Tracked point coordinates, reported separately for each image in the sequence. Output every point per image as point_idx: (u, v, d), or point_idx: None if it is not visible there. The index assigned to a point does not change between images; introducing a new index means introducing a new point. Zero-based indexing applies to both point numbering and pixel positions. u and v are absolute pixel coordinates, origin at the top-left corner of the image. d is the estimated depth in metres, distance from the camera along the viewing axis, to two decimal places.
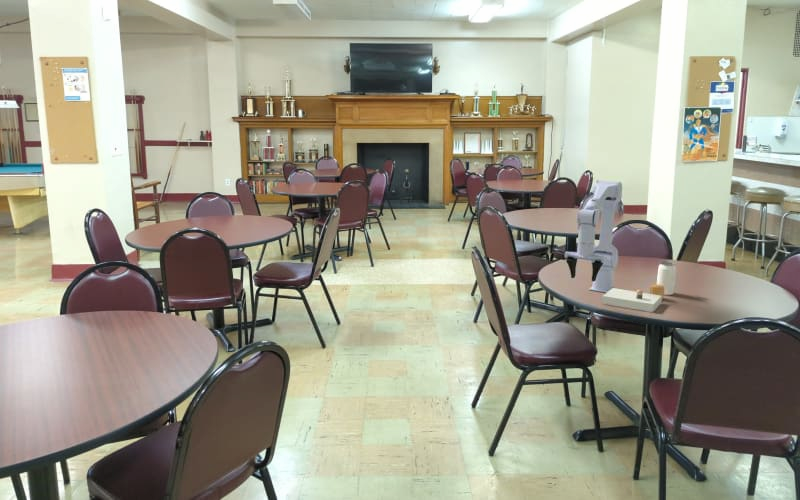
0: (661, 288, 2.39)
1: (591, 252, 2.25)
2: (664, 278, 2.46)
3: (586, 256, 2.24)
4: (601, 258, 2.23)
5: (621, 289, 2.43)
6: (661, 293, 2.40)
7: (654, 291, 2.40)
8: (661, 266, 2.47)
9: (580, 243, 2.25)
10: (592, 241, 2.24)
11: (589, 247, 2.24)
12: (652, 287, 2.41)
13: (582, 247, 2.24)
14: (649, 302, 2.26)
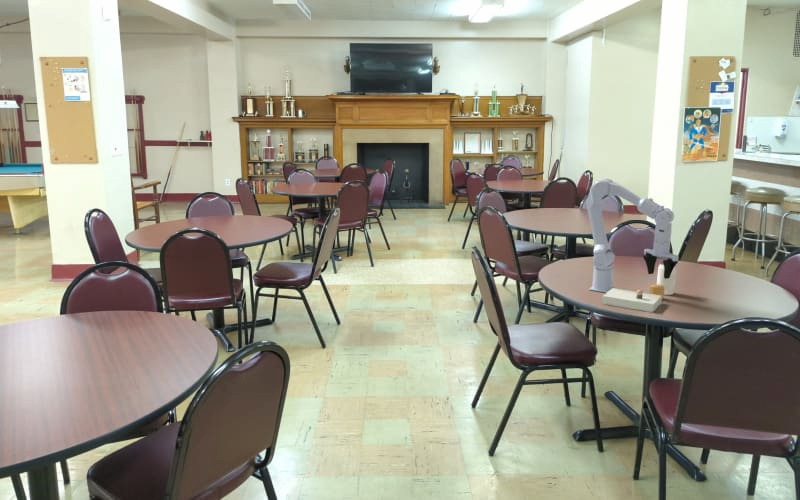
0: (661, 288, 2.39)
1: (664, 250, 2.36)
2: (664, 278, 2.46)
3: (659, 253, 2.36)
4: (672, 256, 2.33)
5: (621, 289, 2.43)
6: (661, 293, 2.40)
7: (654, 291, 2.40)
8: (661, 266, 2.47)
9: (654, 241, 2.38)
10: None
11: (662, 245, 2.35)
12: (652, 287, 2.41)
13: (656, 244, 2.37)
14: (649, 302, 2.26)
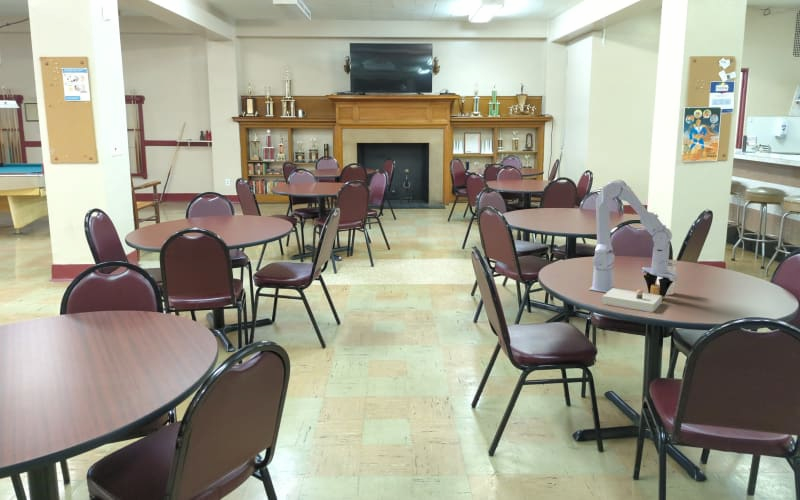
0: None
1: (662, 269, 2.37)
2: None
3: (657, 273, 2.38)
4: (670, 276, 2.34)
5: (621, 289, 2.43)
6: None
7: (654, 291, 2.40)
8: None
9: (652, 260, 2.39)
10: None
11: (660, 265, 2.37)
12: (652, 287, 2.41)
13: (654, 264, 2.38)
14: (649, 302, 2.26)
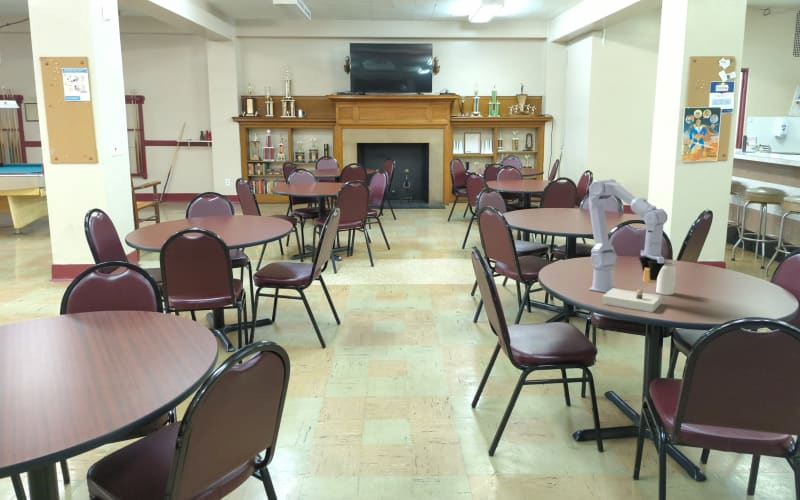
0: None
1: (652, 251, 2.30)
2: (664, 278, 2.46)
3: (647, 254, 2.31)
4: (657, 258, 2.27)
5: (621, 289, 2.43)
6: None
7: (645, 273, 2.34)
8: None
9: (645, 241, 2.33)
10: None
11: (650, 246, 2.30)
12: (644, 269, 2.34)
13: (645, 245, 2.32)
14: (649, 302, 2.26)
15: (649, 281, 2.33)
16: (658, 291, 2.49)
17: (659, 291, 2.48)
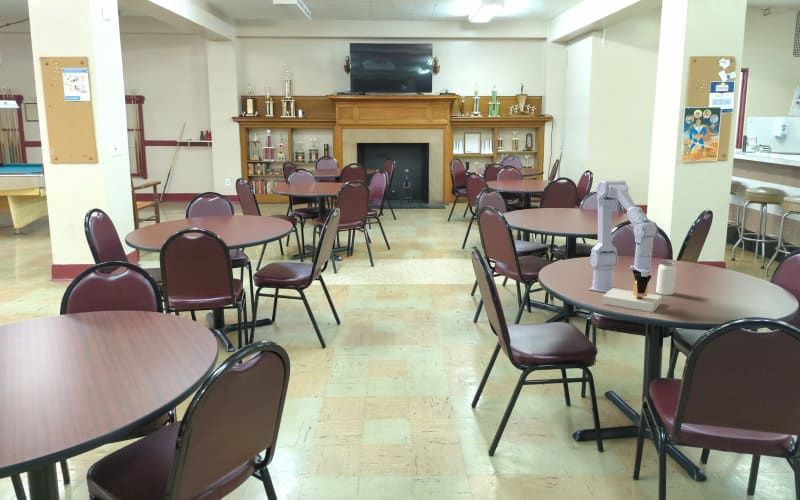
0: None
1: (639, 264, 2.26)
2: (664, 278, 2.46)
3: (635, 267, 2.28)
4: (641, 271, 2.23)
5: (621, 289, 2.43)
6: None
7: (634, 286, 2.30)
8: (661, 266, 2.47)
9: None
10: None
11: (638, 259, 2.27)
12: None
13: None
14: (649, 302, 2.26)
15: (637, 294, 2.29)
16: (658, 291, 2.49)
17: (659, 291, 2.48)
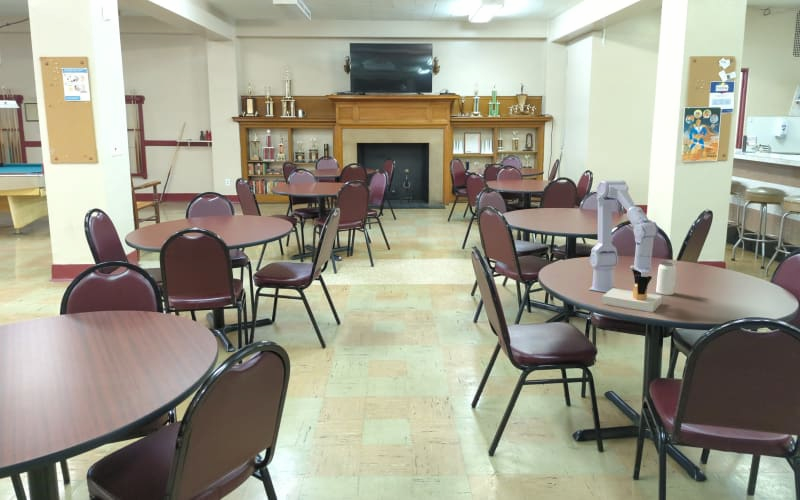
0: None
1: (639, 264, 2.26)
2: (664, 278, 2.46)
3: (635, 267, 2.28)
4: (641, 271, 2.23)
5: (621, 289, 2.43)
6: None
7: (634, 290, 2.30)
8: (661, 266, 2.47)
9: None
10: None
11: (638, 259, 2.27)
12: (634, 285, 2.31)
13: None
14: (649, 302, 2.26)
15: (637, 298, 2.29)
16: (658, 291, 2.49)
17: (659, 291, 2.48)
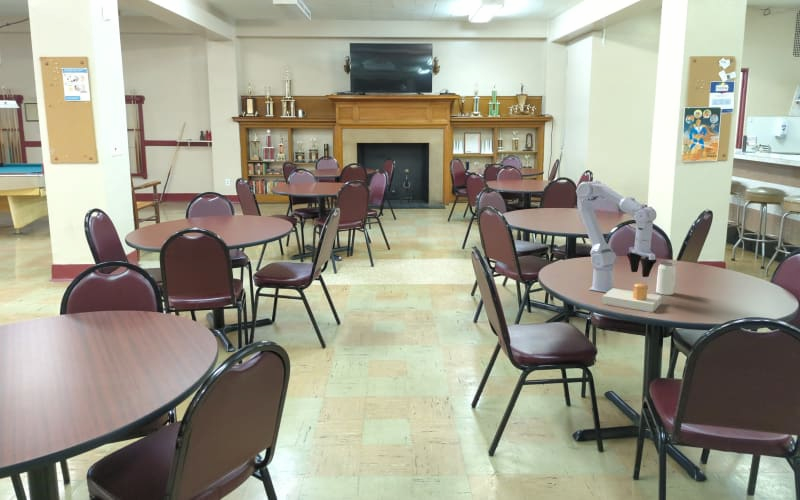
0: (640, 287, 2.28)
1: (643, 248, 2.36)
2: (664, 278, 2.46)
3: (637, 251, 2.37)
4: (649, 255, 2.32)
5: (621, 289, 2.43)
6: (640, 293, 2.28)
7: (634, 290, 2.30)
8: (661, 266, 2.47)
9: (635, 239, 2.38)
10: None
11: (641, 243, 2.36)
12: (634, 285, 2.31)
13: (635, 242, 2.37)
14: (649, 302, 2.26)
15: (637, 298, 2.29)
16: (658, 291, 2.49)
17: (659, 291, 2.48)
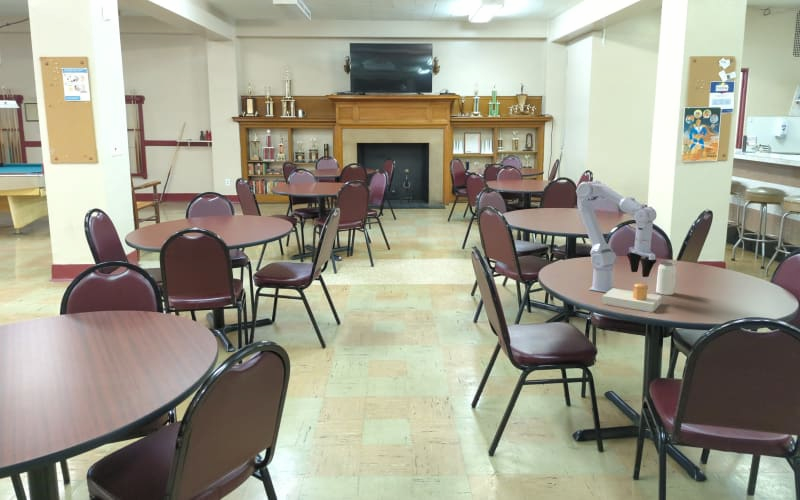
0: (640, 287, 2.28)
1: (643, 248, 2.36)
2: (664, 278, 2.46)
3: (637, 251, 2.37)
4: (649, 255, 2.32)
5: (621, 289, 2.43)
6: (640, 293, 2.28)
7: (634, 290, 2.30)
8: (661, 266, 2.47)
9: (635, 239, 2.38)
10: None
11: (641, 243, 2.36)
12: (634, 285, 2.31)
13: (635, 242, 2.37)
14: (649, 302, 2.26)
15: (637, 298, 2.29)
16: (658, 291, 2.49)
17: (659, 291, 2.48)
